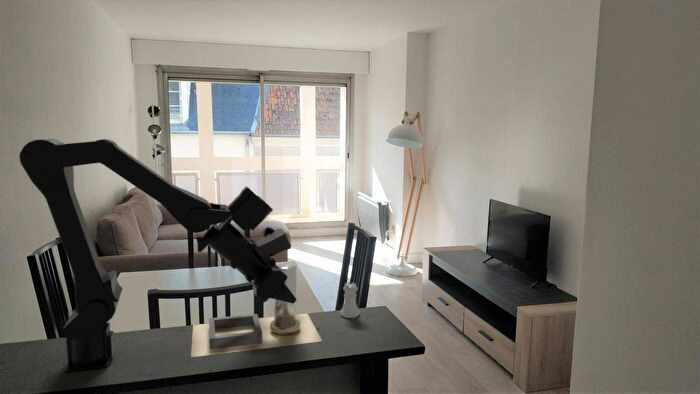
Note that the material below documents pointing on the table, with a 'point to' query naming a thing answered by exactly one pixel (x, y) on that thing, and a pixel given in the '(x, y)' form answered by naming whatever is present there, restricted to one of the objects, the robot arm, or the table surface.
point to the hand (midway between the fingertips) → (292, 297)
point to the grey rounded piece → (286, 307)
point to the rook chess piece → (350, 301)
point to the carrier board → (246, 335)
